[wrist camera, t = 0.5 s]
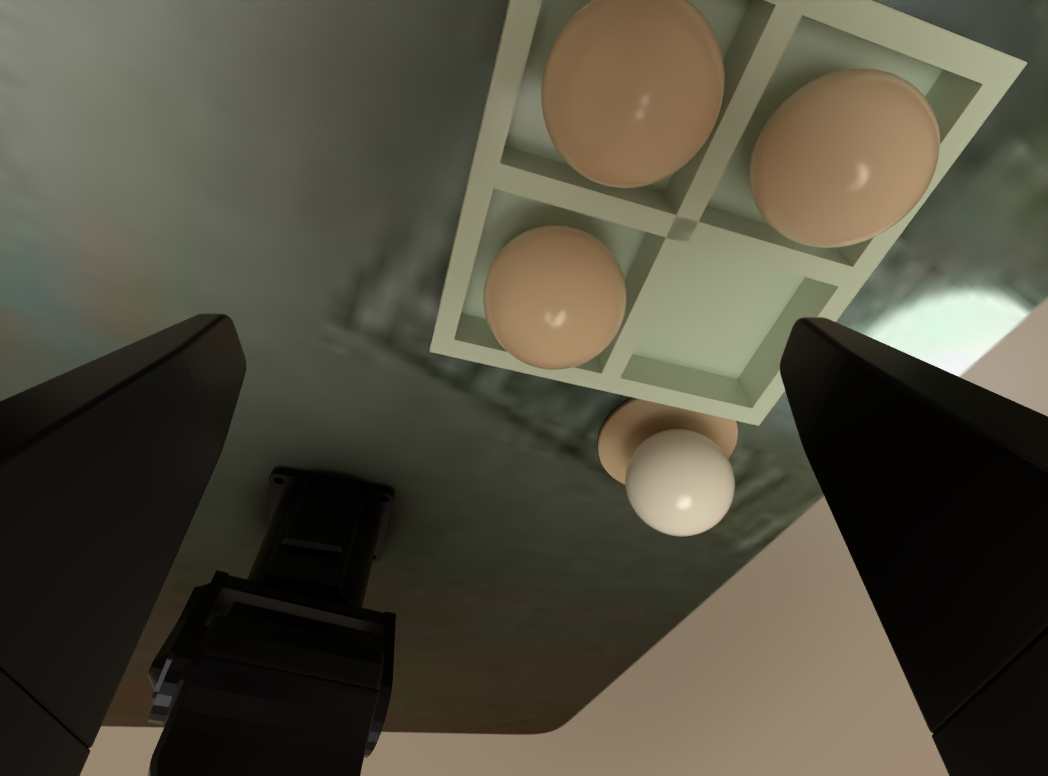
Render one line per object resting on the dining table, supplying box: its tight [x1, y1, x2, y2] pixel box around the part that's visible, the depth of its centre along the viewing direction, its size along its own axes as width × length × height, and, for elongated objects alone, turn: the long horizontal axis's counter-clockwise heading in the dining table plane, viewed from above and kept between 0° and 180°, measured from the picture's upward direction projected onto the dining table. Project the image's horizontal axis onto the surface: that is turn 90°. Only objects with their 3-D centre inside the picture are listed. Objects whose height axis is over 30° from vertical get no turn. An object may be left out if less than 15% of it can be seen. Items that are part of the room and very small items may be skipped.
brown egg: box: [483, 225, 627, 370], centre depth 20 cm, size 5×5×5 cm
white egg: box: [625, 429, 735, 536], centre depth 27 cm, size 5×5×5 cm
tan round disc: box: [598, 397, 738, 484], centre depth 29 cm, size 7×7×1 cm
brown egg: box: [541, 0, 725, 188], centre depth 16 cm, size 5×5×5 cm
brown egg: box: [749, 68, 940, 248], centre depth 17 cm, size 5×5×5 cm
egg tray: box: [429, 0, 1027, 426], centre depth 20 cm, size 14×14×3 cm
